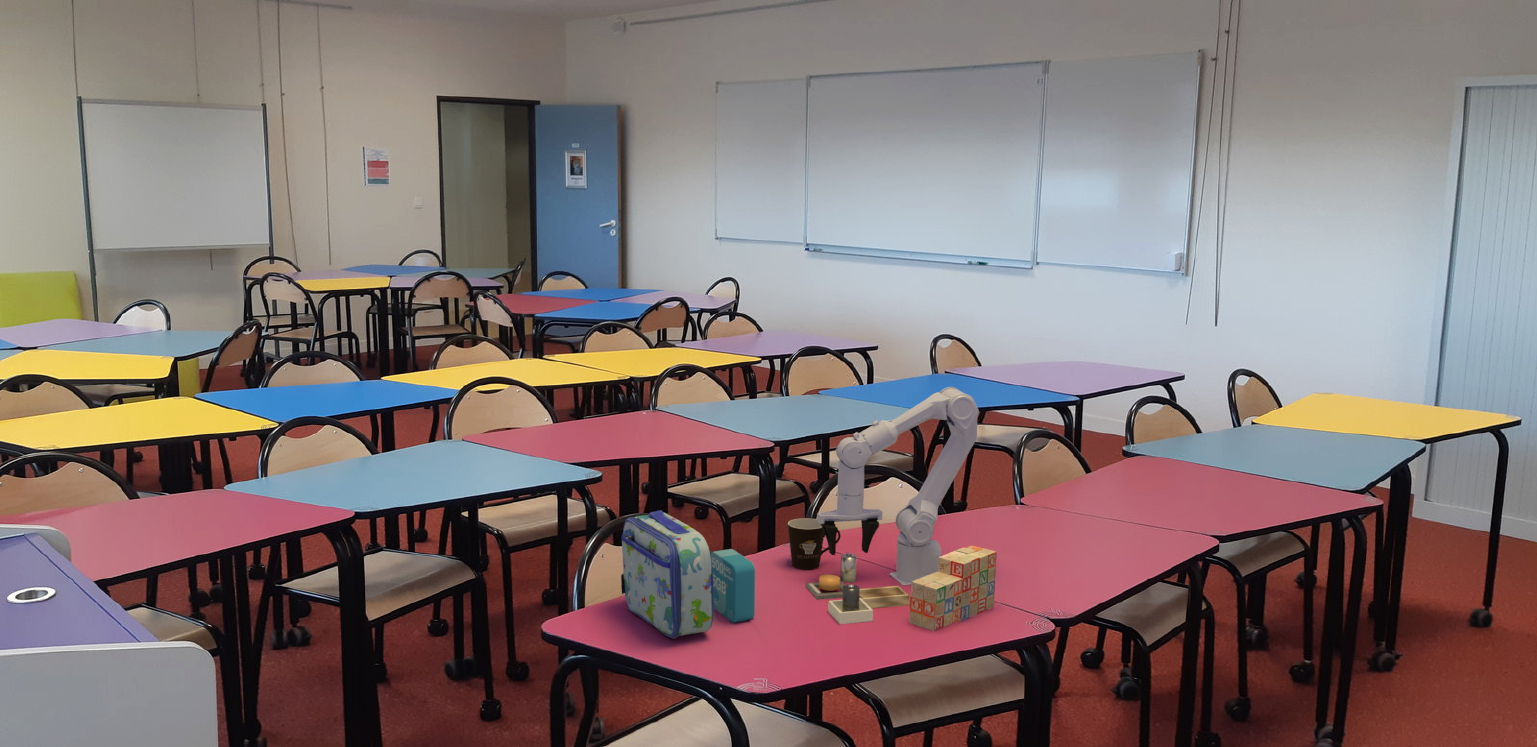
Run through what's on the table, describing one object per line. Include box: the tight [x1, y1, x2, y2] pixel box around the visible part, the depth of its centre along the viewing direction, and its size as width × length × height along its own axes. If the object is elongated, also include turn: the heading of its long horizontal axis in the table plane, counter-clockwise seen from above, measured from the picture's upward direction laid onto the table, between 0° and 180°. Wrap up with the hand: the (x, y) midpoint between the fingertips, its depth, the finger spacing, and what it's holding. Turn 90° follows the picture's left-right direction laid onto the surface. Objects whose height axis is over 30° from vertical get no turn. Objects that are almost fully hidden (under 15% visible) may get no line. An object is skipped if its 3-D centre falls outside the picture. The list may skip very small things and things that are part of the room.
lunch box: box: [620, 509, 715, 639], centre depth 217 cm, size 26×11×21 cm, turn 29°
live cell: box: [840, 552, 858, 584], centre depth 242 cm, size 3×3×6 cm
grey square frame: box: [805, 580, 846, 600], centre depth 235 cm, size 8×8×2 cm
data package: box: [710, 548, 756, 623], centre depth 222 cm, size 12×4×12 cm, turn 27°
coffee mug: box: [787, 517, 841, 571], centre depth 252 cm, size 12×9×10 cm
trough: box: [859, 585, 910, 609], centre depth 229 cm, size 10×6×3 cm, turn 106°
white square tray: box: [827, 598, 874, 625], centre depth 221 cm, size 7×7×3 cm
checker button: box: [818, 574, 841, 592], centre depth 235 cm, size 4×4×2 cm
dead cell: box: [841, 584, 861, 612], centre depth 221 cm, size 3×3×6 cm
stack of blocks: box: [909, 544, 997, 632], centre depth 223 cm, size 21×6×12 cm, turn 136°
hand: (848, 552), depth 242 cm, fingers open, 7 cm apart
